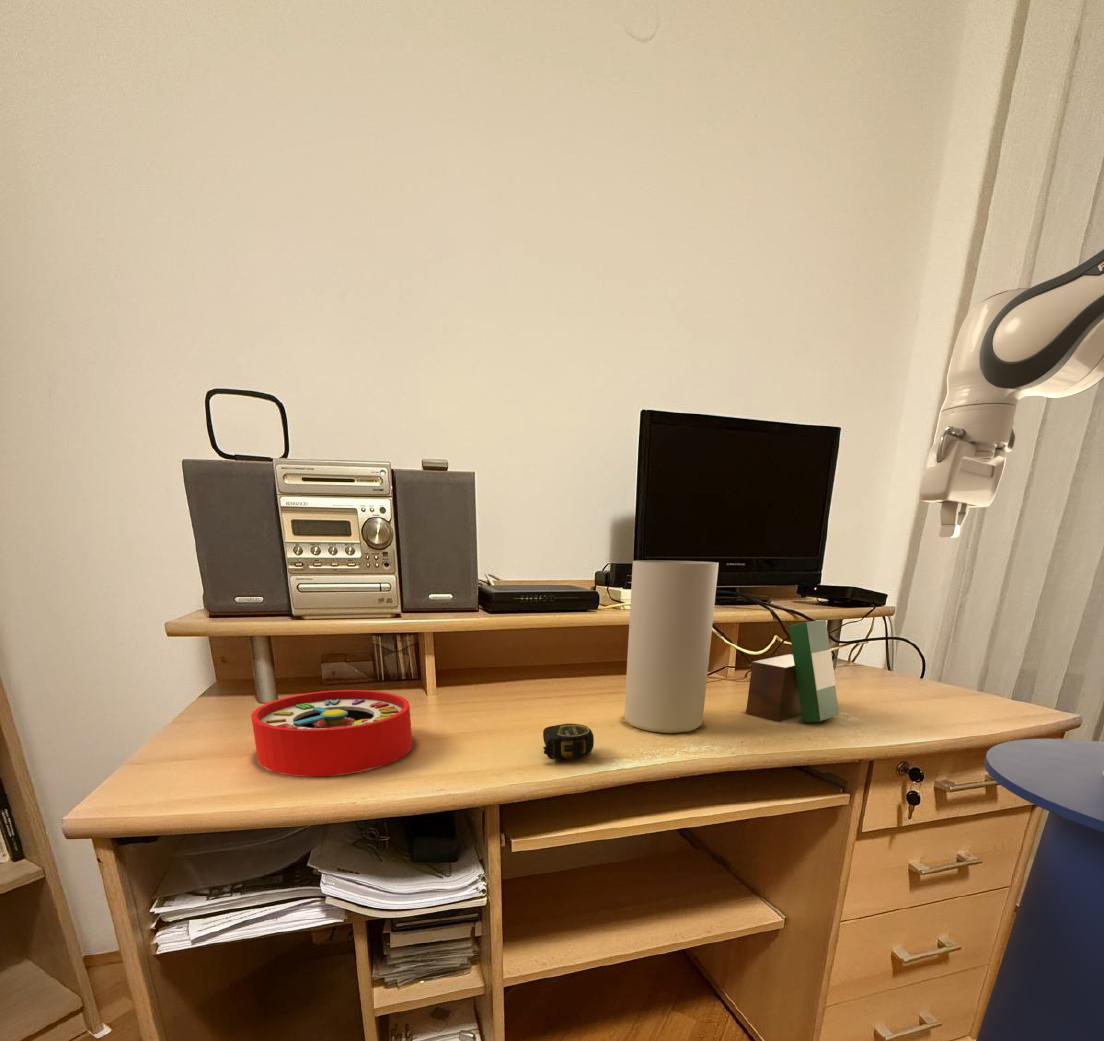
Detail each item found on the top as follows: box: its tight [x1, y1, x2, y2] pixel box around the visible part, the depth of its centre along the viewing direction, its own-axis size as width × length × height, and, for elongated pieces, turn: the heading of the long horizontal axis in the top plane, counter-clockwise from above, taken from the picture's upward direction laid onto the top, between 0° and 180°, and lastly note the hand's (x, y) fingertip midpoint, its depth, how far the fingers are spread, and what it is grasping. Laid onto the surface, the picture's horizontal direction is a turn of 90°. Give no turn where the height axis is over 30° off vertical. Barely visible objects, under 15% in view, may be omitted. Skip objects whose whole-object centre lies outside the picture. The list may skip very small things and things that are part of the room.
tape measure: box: [542, 723, 595, 760], centre depth 79 cm, size 7×7×4 cm
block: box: [745, 653, 802, 722], centre depth 100 cm, size 6×12×9 cm, turn 130°
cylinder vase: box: [623, 560, 720, 734], centre depth 90 cm, size 12×12×25 cm
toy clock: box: [250, 689, 413, 778], centre depth 79 cm, size 20×6×20 cm
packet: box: [788, 618, 840, 723], centre depth 96 cm, size 13×6×13 cm, turn 39°
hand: (948, 537), depth 86 cm, fingers closed
